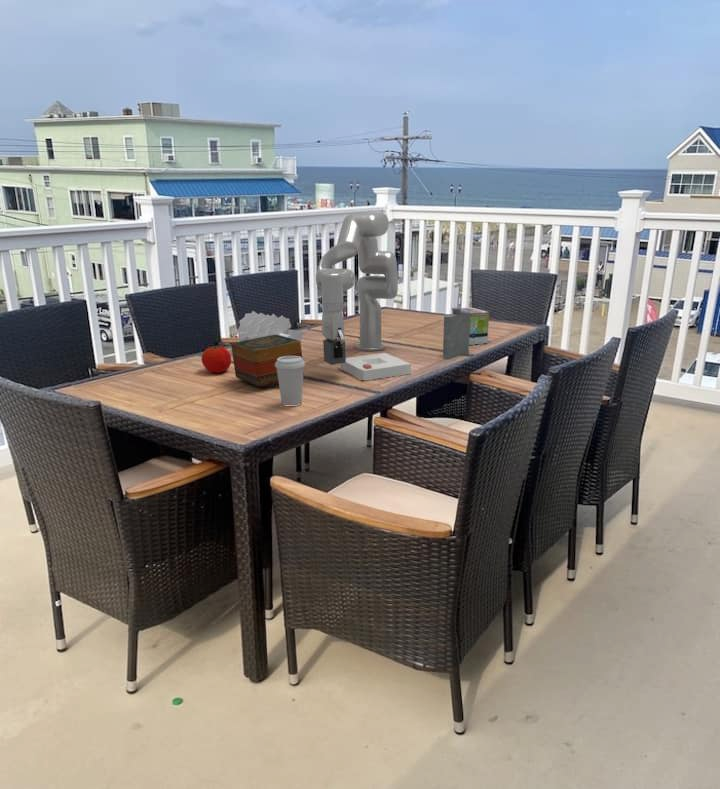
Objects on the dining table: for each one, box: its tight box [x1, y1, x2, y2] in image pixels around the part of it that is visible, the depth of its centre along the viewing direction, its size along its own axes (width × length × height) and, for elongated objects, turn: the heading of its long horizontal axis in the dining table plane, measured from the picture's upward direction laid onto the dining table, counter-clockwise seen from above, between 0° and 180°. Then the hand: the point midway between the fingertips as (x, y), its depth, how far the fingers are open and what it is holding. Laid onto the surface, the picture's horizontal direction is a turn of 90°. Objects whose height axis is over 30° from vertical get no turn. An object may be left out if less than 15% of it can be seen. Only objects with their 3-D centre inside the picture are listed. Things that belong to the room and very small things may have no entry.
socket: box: [339, 352, 412, 381], centre depth 232 cm, size 20×20×5 cm
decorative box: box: [230, 335, 305, 388], centre depth 219 cm, size 20×22×16 cm
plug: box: [322, 337, 347, 366], centre depth 223 cm, size 6×6×8 cm
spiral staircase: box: [236, 310, 304, 343], centre depth 258 cm, size 18×18×25 cm
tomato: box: [201, 345, 232, 374], centre depth 234 cm, size 11×13×10 cm
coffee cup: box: [275, 356, 306, 405], centre depth 195 cm, size 10×10×15 cm
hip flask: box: [442, 307, 470, 360], centre depth 253 cm, size 16×4×20 cm, turn 136°
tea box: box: [460, 306, 490, 346], centre depth 278 cm, size 15×10×15 cm, turn 22°
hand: (334, 355), depth 224 cm, fingers closed on plug, 6 cm apart
